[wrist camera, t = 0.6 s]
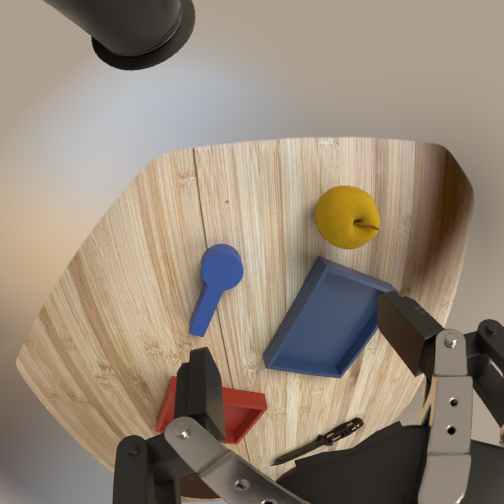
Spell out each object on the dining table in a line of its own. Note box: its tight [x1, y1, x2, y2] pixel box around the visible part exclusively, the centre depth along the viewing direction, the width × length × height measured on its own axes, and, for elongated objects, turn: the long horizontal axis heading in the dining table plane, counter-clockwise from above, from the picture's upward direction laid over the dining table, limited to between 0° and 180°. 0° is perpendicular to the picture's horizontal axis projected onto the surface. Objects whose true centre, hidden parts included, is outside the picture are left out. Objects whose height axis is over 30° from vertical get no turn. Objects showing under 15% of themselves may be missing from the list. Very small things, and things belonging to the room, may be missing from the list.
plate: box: [179, 472, 221, 499], centre depth 52 cm, size 28×28×4 cm
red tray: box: [156, 376, 267, 444], centre depth 40 cm, size 15×13×3 cm
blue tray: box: [263, 257, 400, 378], centre depth 36 cm, size 13×16×3 cm
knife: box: [270, 418, 364, 466], centre depth 52 cm, size 25×6×1 cm, turn 122°
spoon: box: [189, 244, 243, 337], centre depth 31 cm, size 11×4×2 cm, turn 157°
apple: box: [315, 186, 380, 249], centre depth 27 cm, size 6×6×8 cm
